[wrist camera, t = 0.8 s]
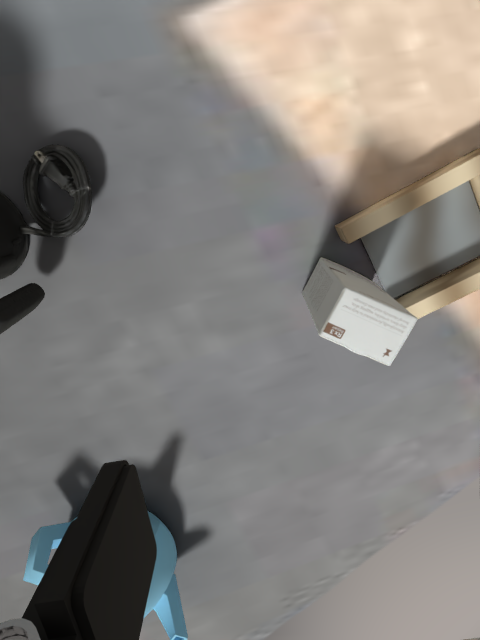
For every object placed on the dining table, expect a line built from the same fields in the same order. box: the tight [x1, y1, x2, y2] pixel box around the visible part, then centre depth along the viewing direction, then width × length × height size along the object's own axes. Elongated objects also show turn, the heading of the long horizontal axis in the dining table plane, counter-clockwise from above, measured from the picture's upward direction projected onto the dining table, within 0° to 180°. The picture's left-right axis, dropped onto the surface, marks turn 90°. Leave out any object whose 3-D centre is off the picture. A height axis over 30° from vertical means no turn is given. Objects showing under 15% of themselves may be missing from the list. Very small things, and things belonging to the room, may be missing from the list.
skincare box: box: [302, 257, 417, 366], centre depth 34 cm, size 6×4×12 cm
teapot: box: [23, 511, 188, 640], centre depth 45 cm, size 15×15×11 cm
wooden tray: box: [335, 148, 480, 319], centre depth 37 cm, size 14×11×3 cm
